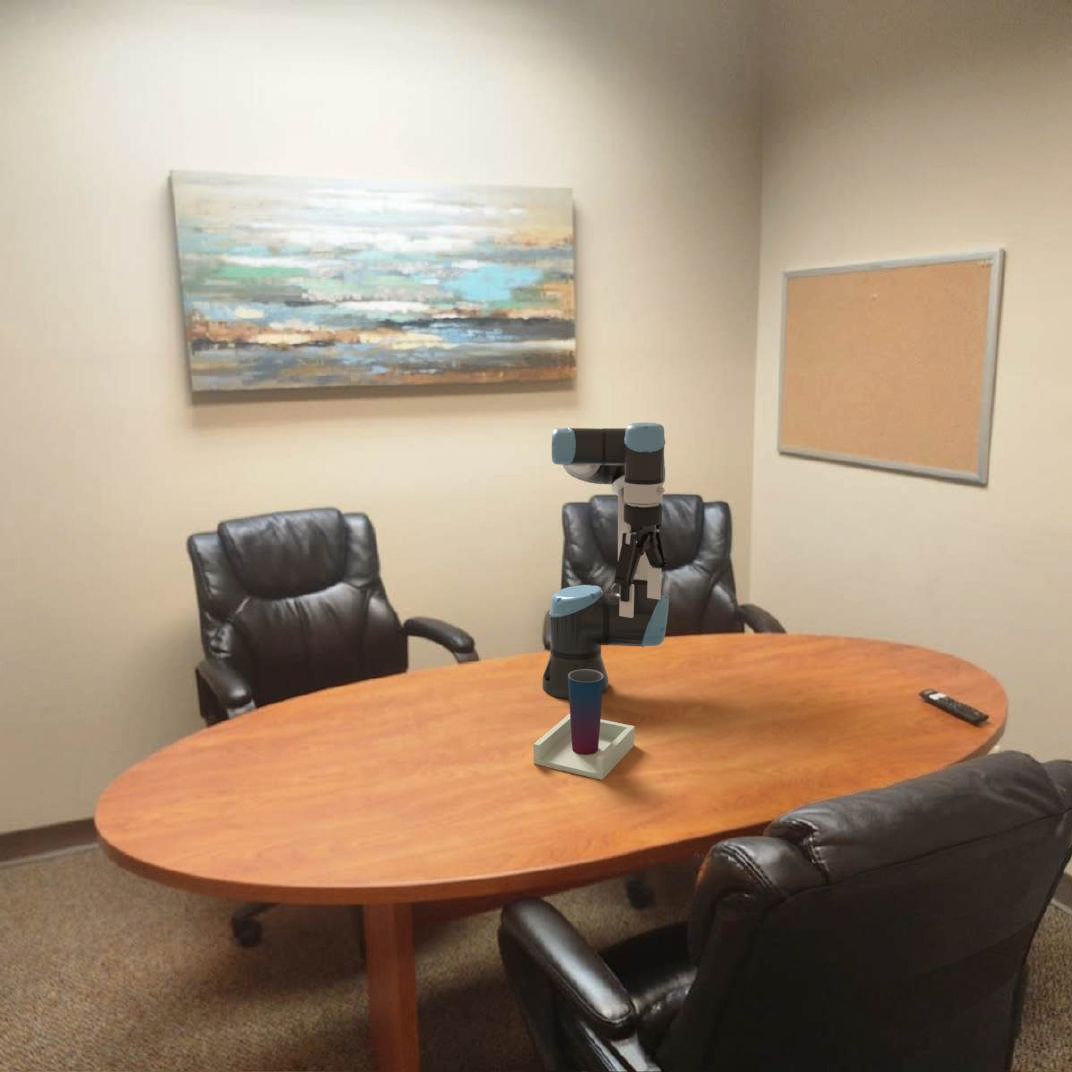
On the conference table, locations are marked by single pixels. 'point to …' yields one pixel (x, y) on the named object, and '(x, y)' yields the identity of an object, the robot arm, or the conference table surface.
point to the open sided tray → (560, 755)
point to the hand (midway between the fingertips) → (640, 607)
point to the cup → (585, 709)
